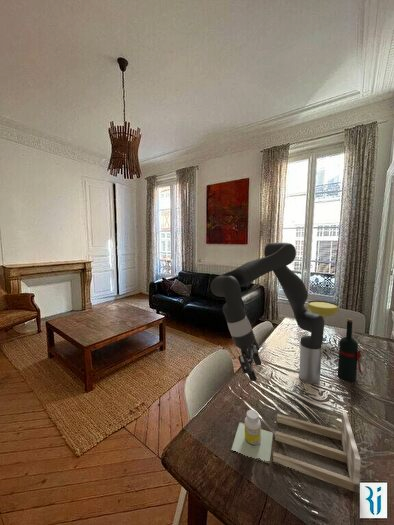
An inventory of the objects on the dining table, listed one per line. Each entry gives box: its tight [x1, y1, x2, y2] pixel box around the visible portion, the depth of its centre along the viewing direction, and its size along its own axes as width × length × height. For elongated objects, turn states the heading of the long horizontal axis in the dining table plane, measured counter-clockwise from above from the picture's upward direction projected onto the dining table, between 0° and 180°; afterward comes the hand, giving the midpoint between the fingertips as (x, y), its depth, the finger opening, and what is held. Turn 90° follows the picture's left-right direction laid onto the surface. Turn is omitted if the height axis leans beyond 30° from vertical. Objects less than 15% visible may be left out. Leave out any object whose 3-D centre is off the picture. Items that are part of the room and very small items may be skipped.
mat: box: [230, 421, 274, 462], centre depth 77 cm, size 12×12×1 cm
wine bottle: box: [337, 317, 363, 383], centre depth 109 cm, size 8×10×30 cm
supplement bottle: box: [244, 409, 262, 447], centre depth 76 cm, size 5×5×10 cm
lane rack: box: [273, 410, 362, 494], centre depth 73 cm, size 18×22×10 cm
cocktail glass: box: [307, 300, 339, 341], centre depth 151 cm, size 18×18×25 cm
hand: (256, 372), depth 79 cm, fingers open, 8 cm apart
